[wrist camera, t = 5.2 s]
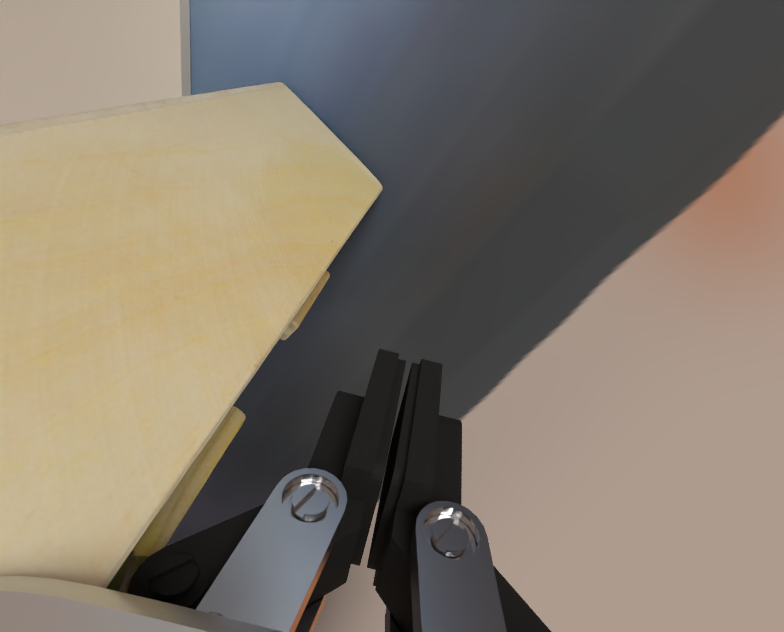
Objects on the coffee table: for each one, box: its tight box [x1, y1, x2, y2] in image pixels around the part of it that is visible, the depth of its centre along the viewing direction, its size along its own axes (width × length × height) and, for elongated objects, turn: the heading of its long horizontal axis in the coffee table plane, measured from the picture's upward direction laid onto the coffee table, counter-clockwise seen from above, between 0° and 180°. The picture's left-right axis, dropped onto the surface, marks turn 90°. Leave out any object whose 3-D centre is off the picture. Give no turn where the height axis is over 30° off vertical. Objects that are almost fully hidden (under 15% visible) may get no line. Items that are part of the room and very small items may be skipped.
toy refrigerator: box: [0, 82, 383, 589], centre depth 15 cm, size 8×7×21 cm
